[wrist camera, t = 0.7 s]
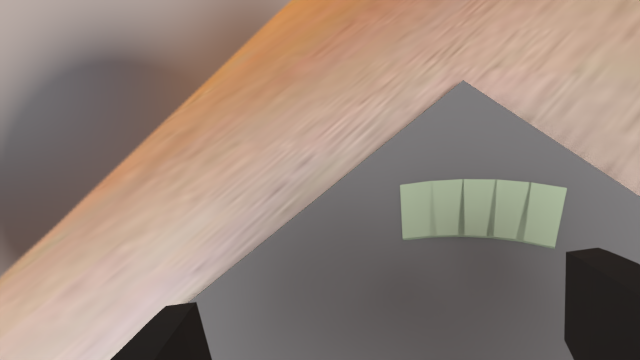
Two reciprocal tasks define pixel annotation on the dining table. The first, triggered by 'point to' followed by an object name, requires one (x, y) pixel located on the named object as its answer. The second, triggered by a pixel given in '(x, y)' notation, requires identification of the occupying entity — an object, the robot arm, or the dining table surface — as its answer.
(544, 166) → the board
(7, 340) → the dining table surface
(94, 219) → the dining table surface
